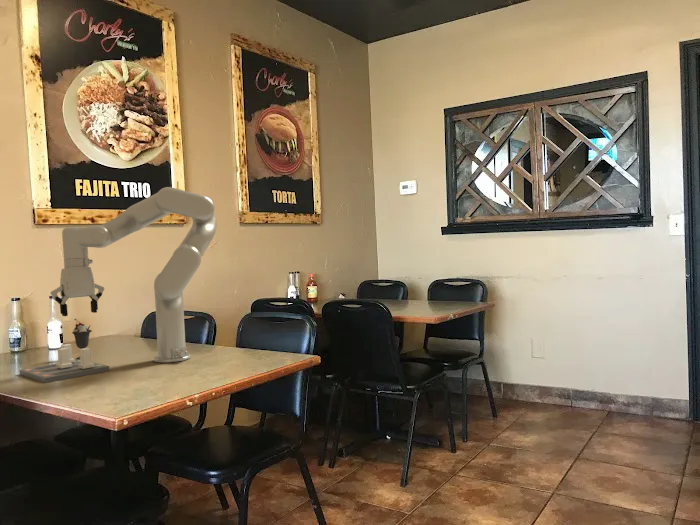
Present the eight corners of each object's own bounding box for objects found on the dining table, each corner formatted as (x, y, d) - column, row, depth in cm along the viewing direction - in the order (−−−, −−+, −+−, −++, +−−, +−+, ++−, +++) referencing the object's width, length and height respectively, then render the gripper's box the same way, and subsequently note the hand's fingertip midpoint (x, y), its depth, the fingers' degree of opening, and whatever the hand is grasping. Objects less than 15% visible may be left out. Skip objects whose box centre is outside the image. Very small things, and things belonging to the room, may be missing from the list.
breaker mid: (72, 366, 193) (71, 348, 193) (61, 368, 191) (59, 350, 190) (67, 365, 196) (66, 347, 196) (56, 367, 193) (55, 349, 193)
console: (109, 370, 193) (109, 365, 193) (45, 383, 179) (45, 377, 179) (80, 363, 208) (80, 358, 208) (19, 374, 193) (19, 369, 193)
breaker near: (94, 366, 191) (93, 348, 191) (83, 368, 189) (82, 350, 188) (89, 365, 194) (88, 347, 194) (78, 367, 191) (77, 349, 191)
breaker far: (75, 361, 201) (74, 344, 201) (64, 363, 199) (63, 346, 198) (70, 360, 204) (69, 343, 204) (59, 362, 201) (58, 345, 201)
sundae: (69, 359, 217) (66, 319, 217) (84, 355, 223) (82, 316, 223) (81, 360, 214) (78, 319, 214) (96, 356, 220) (94, 317, 220)
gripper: (97, 262, 206) (100, 310, 207) (45, 265, 194) (48, 316, 195) (106, 262, 201) (109, 311, 202) (53, 265, 189) (56, 318, 189)
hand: (79, 314), depth 198 cm, fingers open, 9 cm apart
